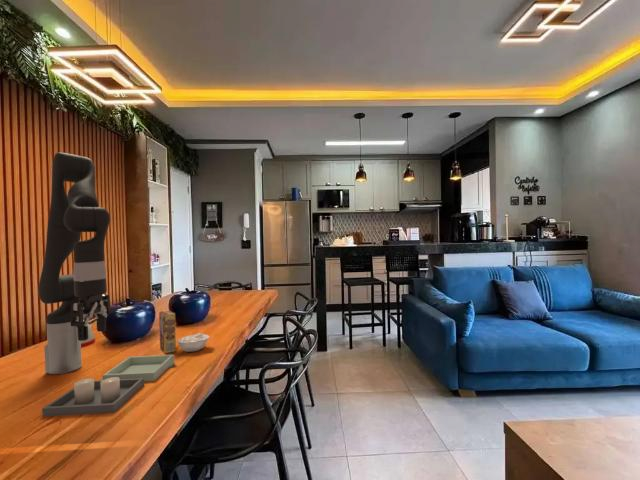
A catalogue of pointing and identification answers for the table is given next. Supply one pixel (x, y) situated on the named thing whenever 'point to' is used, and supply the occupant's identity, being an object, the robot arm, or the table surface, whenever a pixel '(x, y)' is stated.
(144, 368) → the shallow green tray
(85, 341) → the kitchen timer
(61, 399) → the parts tray
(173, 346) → the candy box
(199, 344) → the cell model
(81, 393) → the pebble
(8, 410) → the table surface
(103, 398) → the pebble
